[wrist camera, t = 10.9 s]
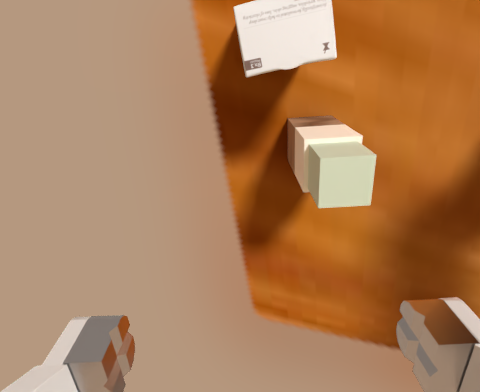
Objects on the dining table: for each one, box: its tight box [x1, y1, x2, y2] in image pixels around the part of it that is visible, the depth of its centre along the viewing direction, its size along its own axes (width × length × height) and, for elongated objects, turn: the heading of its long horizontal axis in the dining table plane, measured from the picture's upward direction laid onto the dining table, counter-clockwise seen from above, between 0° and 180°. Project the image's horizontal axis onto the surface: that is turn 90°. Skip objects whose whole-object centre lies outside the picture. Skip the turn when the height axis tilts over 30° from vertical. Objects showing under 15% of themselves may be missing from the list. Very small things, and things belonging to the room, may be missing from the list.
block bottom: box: [288, 116, 343, 174], centre depth 42 cm, size 6×6×6 cm
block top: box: [295, 124, 363, 192], centre depth 37 cm, size 6×6×6 cm
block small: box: [308, 141, 376, 208], centre depth 32 cm, size 5×5×5 cm
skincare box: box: [234, 0, 337, 77], centre depth 33 cm, size 8×6×15 cm
